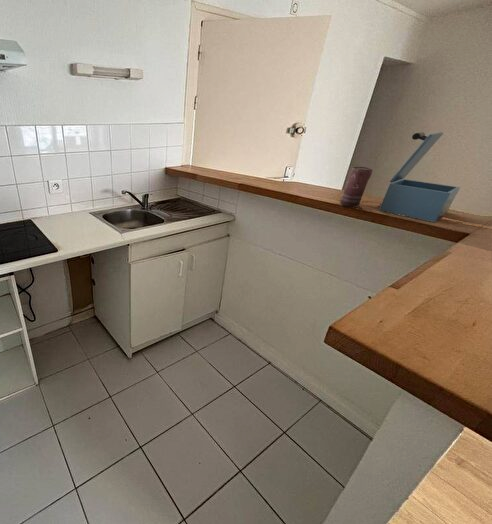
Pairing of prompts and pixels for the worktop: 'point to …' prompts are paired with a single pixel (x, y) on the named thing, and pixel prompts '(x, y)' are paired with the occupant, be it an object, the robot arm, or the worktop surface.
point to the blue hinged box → (418, 199)
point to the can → (355, 186)
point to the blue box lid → (417, 154)
